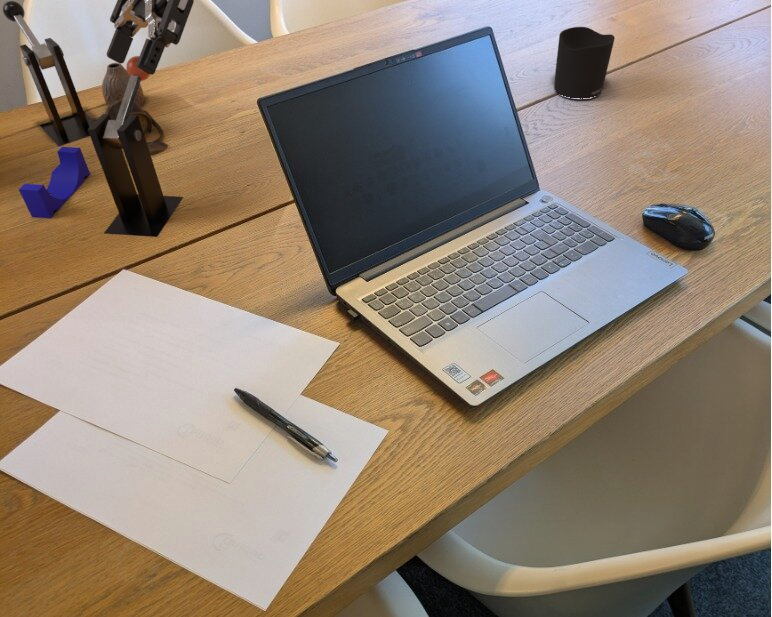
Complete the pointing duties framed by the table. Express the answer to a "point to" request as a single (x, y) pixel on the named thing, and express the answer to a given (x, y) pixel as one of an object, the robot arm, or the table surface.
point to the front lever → (125, 103)
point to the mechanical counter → (145, 122)
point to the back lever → (29, 34)
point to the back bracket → (57, 128)
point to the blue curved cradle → (57, 184)
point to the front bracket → (135, 210)
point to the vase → (118, 84)
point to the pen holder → (582, 62)
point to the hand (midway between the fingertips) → (128, 65)
